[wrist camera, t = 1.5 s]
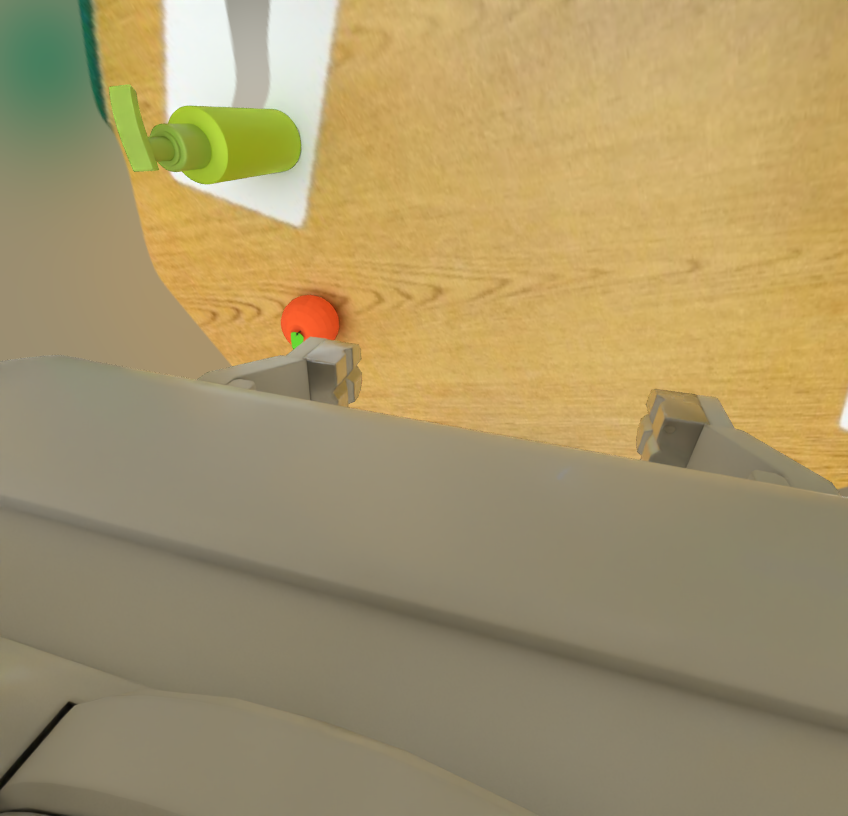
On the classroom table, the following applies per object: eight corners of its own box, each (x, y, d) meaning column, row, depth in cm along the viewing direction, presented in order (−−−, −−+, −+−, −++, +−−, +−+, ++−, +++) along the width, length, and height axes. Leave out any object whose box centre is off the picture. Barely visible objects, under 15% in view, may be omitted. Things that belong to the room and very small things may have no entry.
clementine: (344, 352, 62) (321, 376, 56) (297, 338, 63) (269, 360, 57) (350, 296, 58) (325, 315, 52) (299, 281, 59) (268, 298, 53)
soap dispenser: (293, 95, 48) (148, 81, 32) (305, 170, 52) (180, 192, 35) (243, 99, 50) (80, 89, 33) (259, 172, 53) (118, 195, 37)
